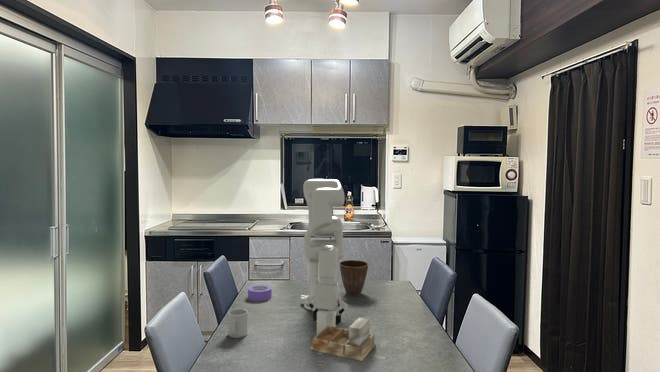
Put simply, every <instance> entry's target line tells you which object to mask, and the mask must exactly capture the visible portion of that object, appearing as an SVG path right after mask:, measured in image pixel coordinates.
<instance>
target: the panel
mask: <svg viewBox="0 0 660 372" xmlns="http://www.w3.org/2000/svg"><path fill="white" fill-rule="evenodd" d="M336 315H337V314H336V312H335V311H330V310H324V309H320V310H319V311H318V312H317V320H316V335H317V334H319V333H320V332H321V331H322V330H323V329H325V328H326V327H327V326H333V327H337V325H335V322H336Z"/></svg>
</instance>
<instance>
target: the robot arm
mask: <svg viewBox="0 0 660 372" xmlns="http://www.w3.org/2000/svg"><path fill="white" fill-rule="evenodd" d="M303 196H304V199H305V201H306V205H307V209H308V228H307V230H306V231H305V234H304V238H303V256H304V260H305V262H306V263H307V295H304V294H301V295H300V301H304V303H303V306H304V308H305V309H306V310H309V311H311V312H312V318H313V321H314V322H317V312H318V311H319V310H320V309H324V310H330V311H335V312H336V322H335V325H336V326H339V325H340V324H341V322H342V314H343V313H344V312H345V311H346V309H347V308H348V306H349V305H348V303H346V302H345V301H343V300H342V299H341V295H340V287H339V283H337V279H338V278H337V277H338V276H337V275H338V273H337V272H338V260H341V259H343V256H344V233H343V222H342V219H341V218H339V216H333V208H339V207H343V206H344V205H345V204H344V203H345V197H346V196H345V192H344V188H343V186H342V184H341V181H340V180H338V179H334V178H333V179H332V178H331V179H330V178H329V179H327V178H325V179H324V178H311V179H307V180H305V181H304V183H303ZM312 237H316V238H317V237H319V238H321V237H322V238H323V237H324V238H325V237H326V238H327V237H328V238H329V237H330V238H332V239H312V240H311V238H312ZM340 306H342V308H340Z"/></svg>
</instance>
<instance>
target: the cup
mask: <svg viewBox="0 0 660 372" xmlns="http://www.w3.org/2000/svg"><path fill="white" fill-rule="evenodd" d="M248 312H249V311H248V310H247V309H245V308H235V309H234V308H233V309H231V310H228V336H229V337H230V338H232V339H238V338H239V339H240V338H243V337H246V336H247V334H248V318H249V317H248V314H249V313H248Z"/></svg>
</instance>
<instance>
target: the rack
mask: <svg viewBox="0 0 660 372" xmlns="http://www.w3.org/2000/svg"><path fill="white" fill-rule="evenodd" d="M376 342H377V341H375V334H374V333H370V319H369V318H364V317H358V318H357V319H356V320H355V321H354V322H353V323H352V324H351V325H350V326H349V327H348V328H343V327H337V326H336V327H333V326H327V327H326V328H325V329H323V330H322V331H321V332H320V333H319V334H317V333H316V335H315V336H314V337H313V338H312V339H311V343H312V344H311V346H310V350H311V351H315V352H319V353H323V354H328V355H332V356H333V355H334V356H338V357H342V358H346V359H352V360H355V361H360V362H363V361H364V359H365V358H366V357H367V355H368V354H369V353H370V352H371V351H372V350H373V348H374V347H375V346H376Z"/></svg>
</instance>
